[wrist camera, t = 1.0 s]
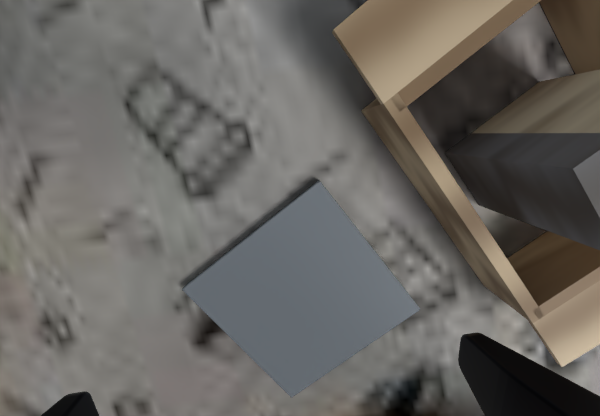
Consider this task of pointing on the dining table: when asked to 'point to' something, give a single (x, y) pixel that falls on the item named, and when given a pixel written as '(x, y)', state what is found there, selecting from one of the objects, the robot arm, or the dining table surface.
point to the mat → (302, 292)
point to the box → (541, 158)
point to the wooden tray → (434, 174)
